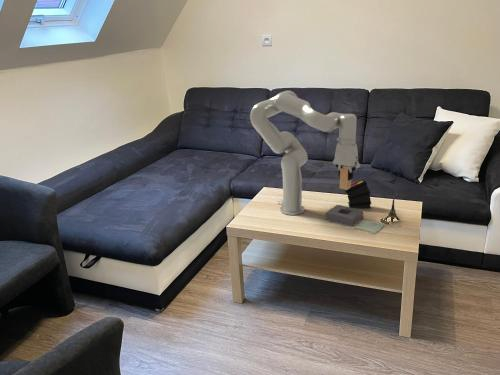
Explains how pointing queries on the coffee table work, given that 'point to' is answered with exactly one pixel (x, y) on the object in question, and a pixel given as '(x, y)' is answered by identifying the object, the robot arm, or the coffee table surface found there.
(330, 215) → the grey flat block
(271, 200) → the coffee table surface
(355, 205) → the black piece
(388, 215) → the eiffel tower figurine
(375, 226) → the mat
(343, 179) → the plug
